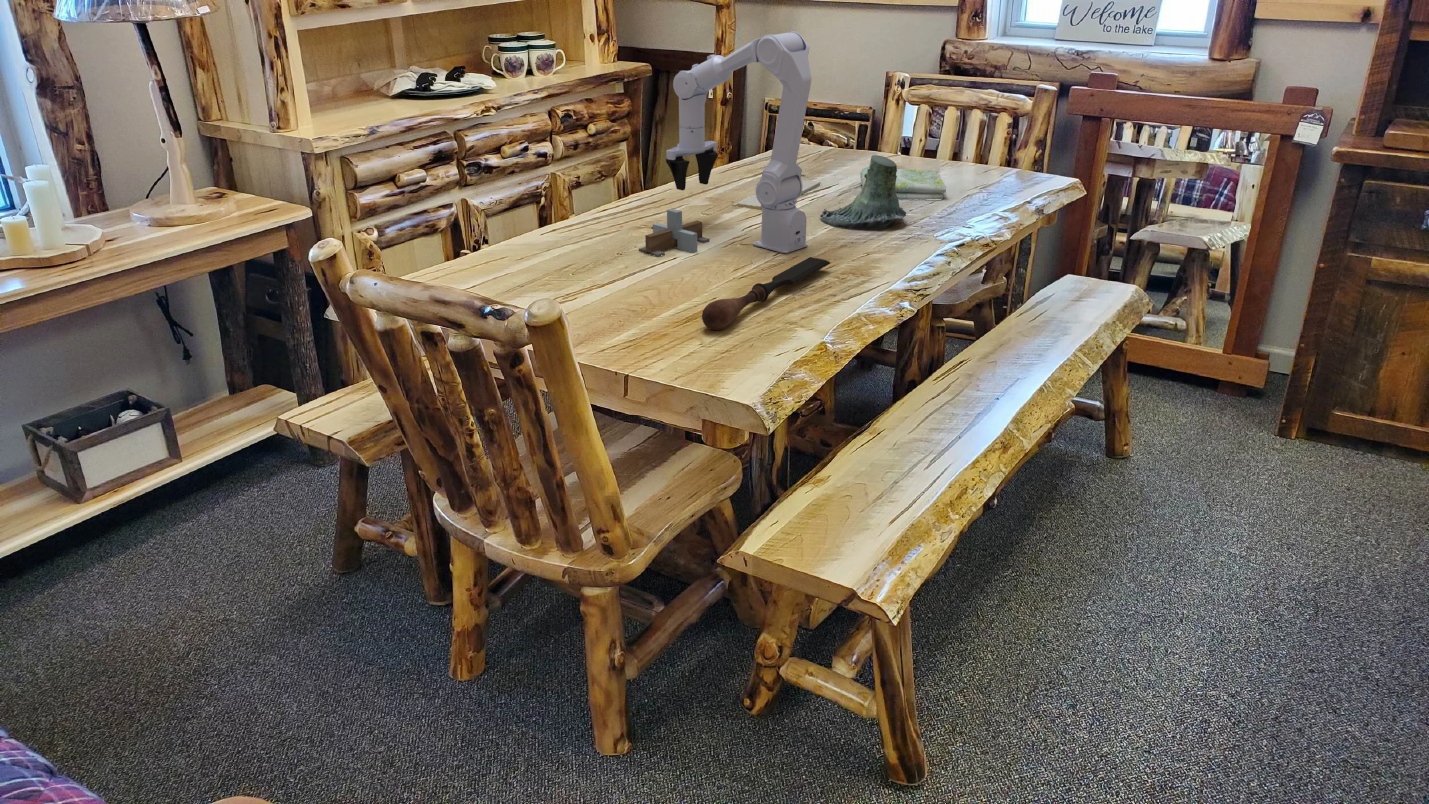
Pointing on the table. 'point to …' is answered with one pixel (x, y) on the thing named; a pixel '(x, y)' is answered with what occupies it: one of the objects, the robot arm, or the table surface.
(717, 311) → the chisel
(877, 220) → the tree stump
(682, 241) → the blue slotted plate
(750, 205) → the baseboard molding
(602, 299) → the table surface
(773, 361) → the table surface
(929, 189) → the towel
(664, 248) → the walnut slotted plate
